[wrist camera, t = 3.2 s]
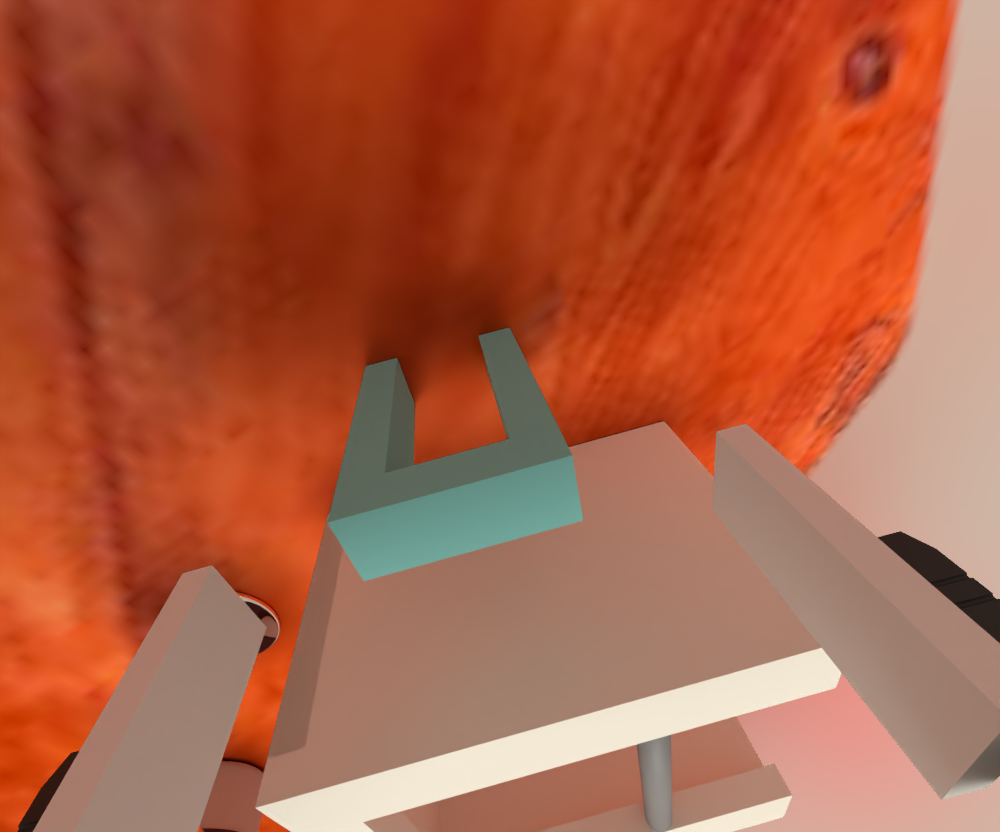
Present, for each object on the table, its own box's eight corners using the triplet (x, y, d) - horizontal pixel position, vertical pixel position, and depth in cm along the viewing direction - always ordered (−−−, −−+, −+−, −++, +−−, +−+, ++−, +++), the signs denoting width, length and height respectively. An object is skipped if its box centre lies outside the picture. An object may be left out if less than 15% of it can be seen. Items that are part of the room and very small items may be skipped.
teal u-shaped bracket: (365, 366, 19) (327, 522, 11) (509, 327, 19) (572, 455, 11) (385, 412, 20) (363, 581, 12) (520, 375, 20) (583, 520, 12)
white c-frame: (328, 513, 23) (254, 808, 13) (664, 421, 23) (855, 638, 13) (423, 670, 31) (425, 919, 21) (667, 602, 32) (783, 816, 22)
